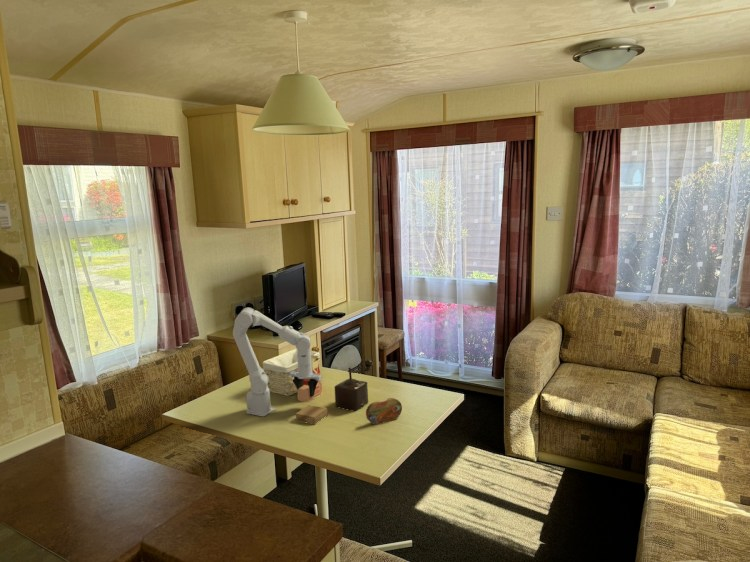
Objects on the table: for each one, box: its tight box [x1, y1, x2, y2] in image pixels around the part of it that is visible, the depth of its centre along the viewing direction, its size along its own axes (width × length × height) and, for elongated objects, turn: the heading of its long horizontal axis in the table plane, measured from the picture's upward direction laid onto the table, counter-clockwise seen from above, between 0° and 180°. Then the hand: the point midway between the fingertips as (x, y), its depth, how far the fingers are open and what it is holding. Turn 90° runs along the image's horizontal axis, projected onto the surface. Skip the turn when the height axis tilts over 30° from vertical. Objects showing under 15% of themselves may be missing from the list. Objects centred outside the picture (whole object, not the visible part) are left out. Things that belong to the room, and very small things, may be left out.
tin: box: [365, 397, 403, 425], centre depth 202 cm, size 15×3×8 cm, turn 117°
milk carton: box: [303, 355, 323, 401], centre depth 230 cm, size 9×9×20 cm
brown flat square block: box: [295, 404, 328, 425], centre depth 207 cm, size 9×9×3 cm
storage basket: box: [262, 348, 321, 397], centre depth 242 cm, size 24×16×15 cm
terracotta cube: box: [297, 385, 316, 403], centre depth 216 cm, size 5×5×5 cm
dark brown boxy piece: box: [334, 359, 374, 412], centre depth 219 cm, size 16×11×18 cm
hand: (306, 395), depth 216 cm, fingers closed on terracotta cube, 5 cm apart
